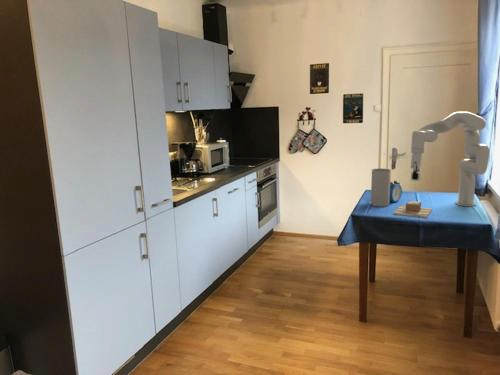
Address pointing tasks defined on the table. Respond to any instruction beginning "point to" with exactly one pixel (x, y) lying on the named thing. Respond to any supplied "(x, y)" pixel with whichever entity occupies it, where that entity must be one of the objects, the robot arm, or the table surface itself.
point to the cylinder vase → (380, 187)
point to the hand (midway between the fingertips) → (415, 178)
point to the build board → (421, 214)
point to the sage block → (418, 176)
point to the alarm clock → (395, 191)
